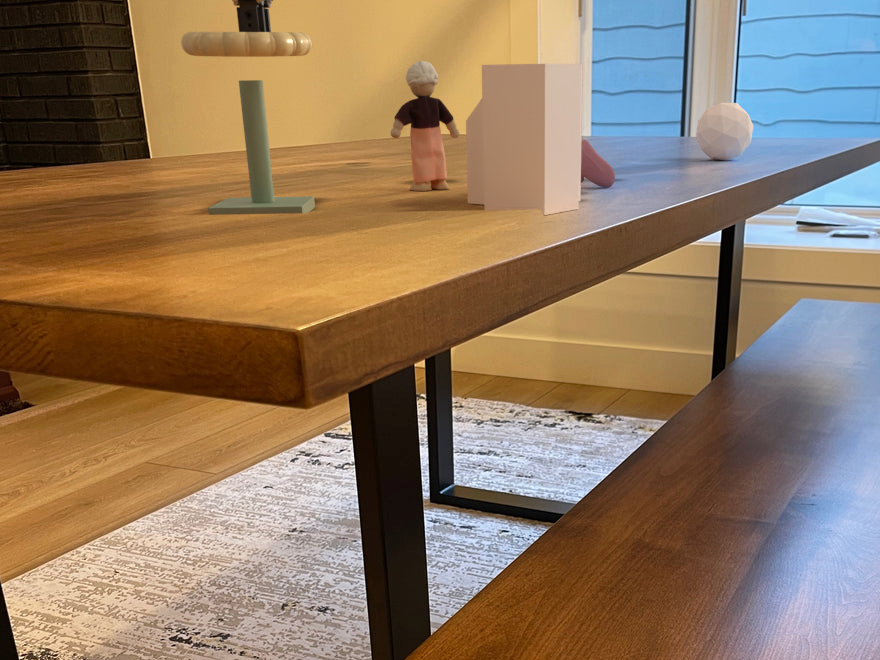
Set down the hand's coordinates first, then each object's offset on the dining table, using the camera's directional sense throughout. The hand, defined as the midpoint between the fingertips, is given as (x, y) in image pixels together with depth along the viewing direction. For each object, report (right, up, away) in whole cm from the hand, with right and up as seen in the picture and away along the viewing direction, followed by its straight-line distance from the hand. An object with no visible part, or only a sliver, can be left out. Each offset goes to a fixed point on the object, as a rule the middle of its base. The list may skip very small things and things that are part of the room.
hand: (257, 53), depth 89 cm
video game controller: (+29, -5, +22) cm, 37 cm away
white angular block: (+24, -12, +5) cm, 27 cm away
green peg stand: (0, -14, +1) cm, 14 cm away
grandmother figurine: (+13, -6, +19) cm, 24 cm away
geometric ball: (+53, +9, +53) cm, 75 cm away
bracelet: (0, -1, -4) cm, 4 cm away
